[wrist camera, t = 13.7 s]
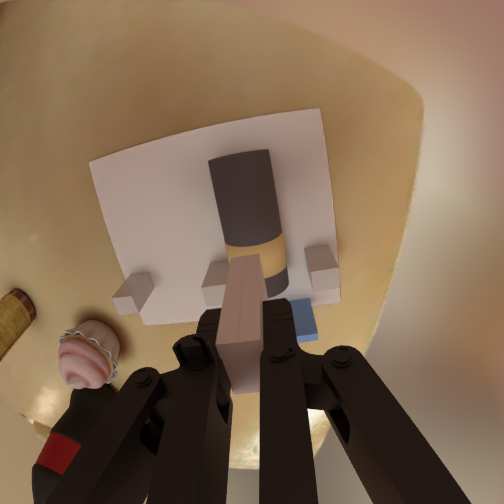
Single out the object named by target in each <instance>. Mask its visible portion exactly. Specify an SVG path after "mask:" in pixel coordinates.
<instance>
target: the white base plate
mask: <svg viewBox="0 0 504 504" xmlns="http://www.w3.org/2000/svg"><path fill="white" fill-rule="evenodd" d="M263 149H269V153H270V159H271V165H272V171H273V177H274V183H275V189H276V196H277V202H278V209H279V215H280V222H281V228H282V231H283V238H284V245H285V252H286V259H287V270H288V278H289V285H288V287H287V289H286V290H285V291H283V292H282V293H281V294H279V295H277V296H274V297H271V298H268V300H274V299H280V298H286V299H287V300H288V301H289V302H290V303H291V306H292V312H293V318H294V324H295V330H296V337H297V343H301V342H307V341H314V340H318V332H317V328H316V323H315V319H314V314H313V310H312V307H313V306H319V305H326V304H332V303H337V302H340V271H339V266H338V253H337V240H336V228H335V217H334V207H333V197H332V188H331V180H330V172H329V164H328V157H327V150H326V143H325V137H324V130H323V124H322V118H321V112H320V108H315V109H306V110H298V111H290V112H283V113H276V114H270V115H263V116H257V117H252V118H246V119H241V120H236V121H231V122H226V123H221V124H216V125H212V126H207V127H203V128H199V129H195V130H191V131H187V132H183V133H179V134H175V135H171V136H168V137H164V138H161V139H157V140H154V141H150V142H147V143H144V144H140V145H137V146H134V147H131V148H128V149H125V150H122V151H119V152H116V153H113V154H110V155H107V156H104V157H102V158H99V159H96V160H93V161H91V162H89V167H90V171H91V175H92V178H93V182H94V186H95V190H96V193H97V197H98V200H99V204H100V207H101V210H102V214H103V217H104V220H105V223H106V226H107V230H108V233H109V236H110V239H111V242H112V245H113V247H114V250H115V253H116V256H117V259H118V261H119V264H120V267H121V270H122V272H123V275H124V277H125V282H124V283H123V284H122V285H121V287H120V288H119V289H118V290H117V292H116V293H115V294H114V296H113V297H112V301H113V303H114V305H115V307H116V310H117V312H118V314H119V315H127V314H140V316H141V319H142V321H143V323H144V325H145V326H147V325H160V324H173V323H185V322H195V321H199V319H200V316H201V315H202V314H203V313H204V312H205V311H206V310H207V309H215V308H222V304H223V298H224V293H225V287H226V282H227V276H228V271H229V261H228V256H227V252H226V247H225V243H224V236H223V231H222V227H221V222H220V217H219V213H218V208H217V203H216V199H215V194H214V189H213V185H212V180H211V175H210V170H209V165H208V160H211V159H214V158H218V157H222V156H226V155H231V154H235V153H241V152H247V151H254V150H263Z"/></svg>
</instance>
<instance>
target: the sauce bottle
mask: <svg viewBox="0 0 504 504" xmlns="http://www.w3.org/2000/svg"><path fill="white" fill-rule="evenodd" d="M34 317H35V310H34V308H33V305H32V303H31V302H30V300H29V299H28V297H27V296H25V294H23V293H22V292H21V291H19V290H12V291H11V292H9V293H8V294H6V295H5V296H4V297H3V298H2V299H1V300H0V361H1V360H2V359H3V358H4V357H5V355H6V354H7V353H8V351H9V350H10V349H11V348H12V346H13V345H14V344H15V343H16V342H17V340H18V339H19V338H20V337H21V335H22V334H23V333H24V332H25V331H26V330H27V328H28V327H29V326H30V325H31V322H32V321H33V320H34Z"/></svg>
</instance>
